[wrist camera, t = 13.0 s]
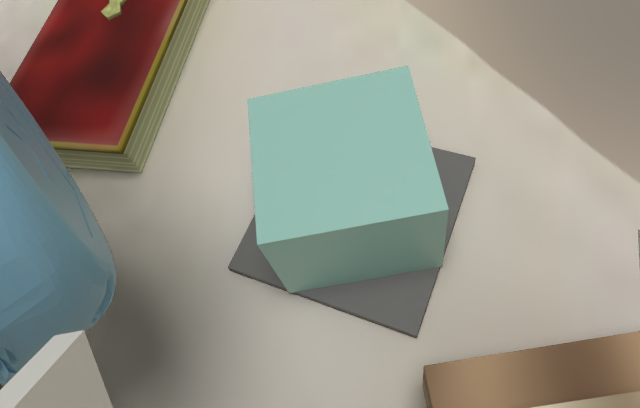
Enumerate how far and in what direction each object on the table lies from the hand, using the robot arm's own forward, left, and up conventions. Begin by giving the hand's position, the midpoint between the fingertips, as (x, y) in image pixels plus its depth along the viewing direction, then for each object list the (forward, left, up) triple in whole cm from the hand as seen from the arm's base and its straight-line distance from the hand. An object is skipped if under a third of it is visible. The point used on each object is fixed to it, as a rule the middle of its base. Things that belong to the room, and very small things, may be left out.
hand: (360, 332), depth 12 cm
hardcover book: (-30, +17, -17) cm, 38 cm away
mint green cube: (-6, +10, -16) cm, 20 cm away
